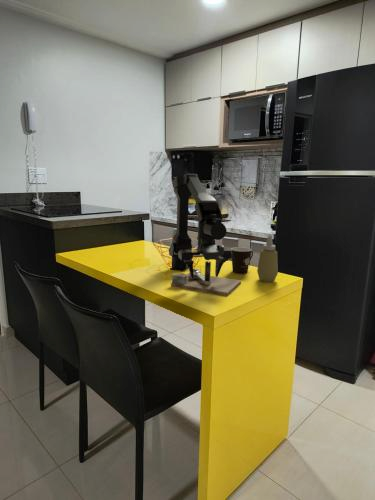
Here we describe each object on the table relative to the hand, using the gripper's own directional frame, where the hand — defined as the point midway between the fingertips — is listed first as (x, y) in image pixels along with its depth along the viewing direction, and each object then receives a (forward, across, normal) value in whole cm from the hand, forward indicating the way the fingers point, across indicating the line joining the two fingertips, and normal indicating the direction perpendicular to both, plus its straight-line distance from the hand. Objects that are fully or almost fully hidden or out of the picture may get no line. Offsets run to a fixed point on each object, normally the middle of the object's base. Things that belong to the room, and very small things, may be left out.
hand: (204, 277), depth 123 cm
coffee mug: (+4, +24, +18) cm, 30 cm away
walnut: (+3, -6, +7) cm, 10 cm away
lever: (+3, 0, +7) cm, 7 cm away
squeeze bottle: (+4, +28, +4) cm, 28 cm away
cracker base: (+4, +2, +4) cm, 6 cm away
